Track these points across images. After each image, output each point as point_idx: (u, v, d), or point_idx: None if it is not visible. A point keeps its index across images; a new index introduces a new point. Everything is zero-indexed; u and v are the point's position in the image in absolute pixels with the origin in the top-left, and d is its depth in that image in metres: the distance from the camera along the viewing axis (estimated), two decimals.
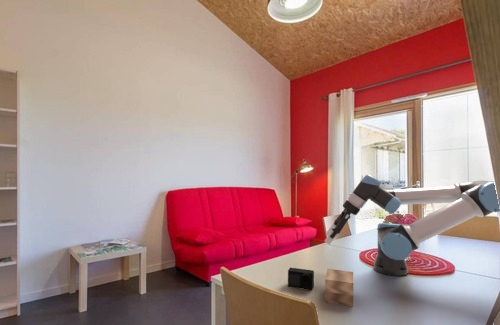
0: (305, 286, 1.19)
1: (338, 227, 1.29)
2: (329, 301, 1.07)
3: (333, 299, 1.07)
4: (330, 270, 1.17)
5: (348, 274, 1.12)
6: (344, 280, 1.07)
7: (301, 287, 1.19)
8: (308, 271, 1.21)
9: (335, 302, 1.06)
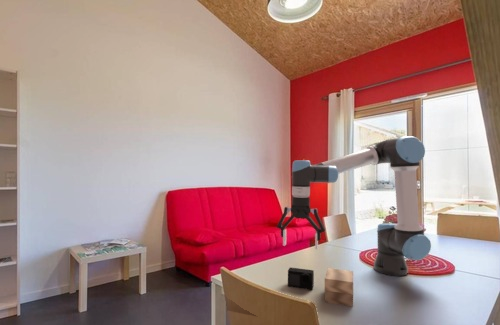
0: (305, 286, 1.19)
1: (322, 226, 1.18)
2: (329, 301, 1.07)
3: (333, 299, 1.07)
4: (330, 269, 1.18)
5: (348, 274, 1.13)
6: (344, 279, 1.08)
7: (301, 287, 1.20)
8: (308, 271, 1.21)
9: (335, 302, 1.06)
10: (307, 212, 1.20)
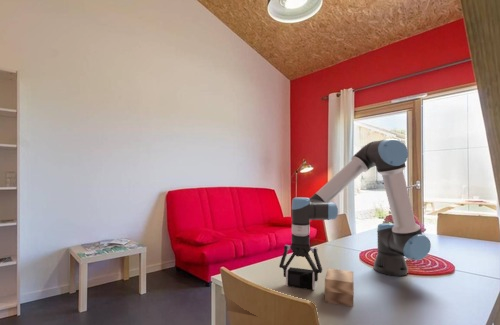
0: (305, 286, 1.19)
1: (320, 266, 1.18)
2: (329, 301, 1.07)
3: (333, 299, 1.07)
4: (330, 270, 1.17)
5: (348, 274, 1.13)
6: (344, 279, 1.07)
7: (301, 287, 1.20)
8: (308, 271, 1.21)
9: (335, 302, 1.06)
10: (307, 250, 1.19)
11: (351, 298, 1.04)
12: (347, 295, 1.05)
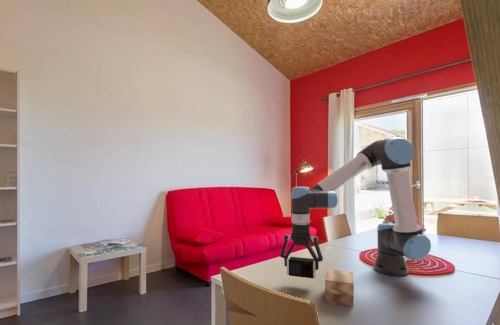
0: (306, 274, 1.19)
1: (321, 255, 1.18)
2: (329, 301, 1.07)
3: (333, 299, 1.07)
4: (330, 270, 1.17)
5: (348, 275, 1.12)
6: (344, 280, 1.07)
7: (302, 275, 1.20)
8: (309, 259, 1.21)
9: (335, 302, 1.06)
10: (307, 239, 1.19)
11: (351, 298, 1.04)
12: (347, 296, 1.05)
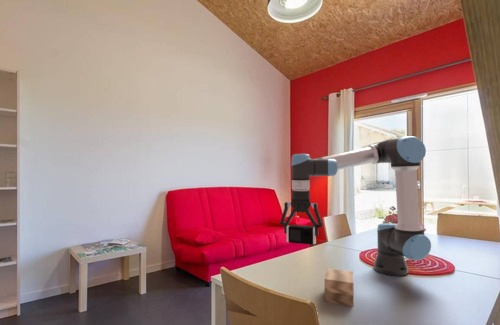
0: (306, 241, 1.20)
1: (321, 221, 1.18)
2: (329, 301, 1.07)
3: (333, 299, 1.07)
4: (330, 270, 1.17)
5: (348, 274, 1.12)
6: (344, 279, 1.07)
7: (302, 242, 1.20)
8: (309, 226, 1.21)
9: (335, 302, 1.06)
10: (307, 206, 1.20)
11: (351, 298, 1.04)
12: (347, 295, 1.05)
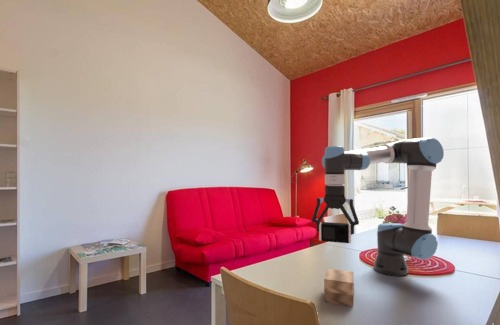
0: (341, 239, 1.11)
1: (357, 218, 1.10)
2: (329, 301, 1.07)
3: (333, 299, 1.07)
4: (330, 270, 1.17)
5: (348, 274, 1.12)
6: (343, 279, 1.07)
7: (336, 240, 1.12)
8: (343, 224, 1.13)
9: (335, 302, 1.06)
10: (342, 201, 1.11)
11: (351, 298, 1.04)
12: (347, 295, 1.05)
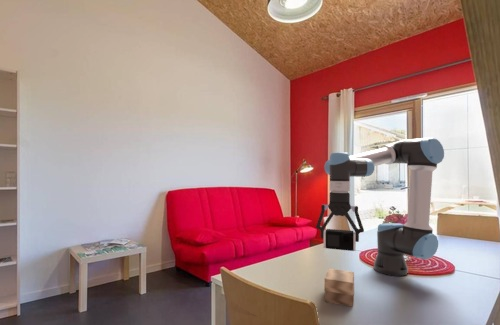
0: (345, 247, 1.10)
1: None
2: (329, 300, 1.07)
3: (333, 299, 1.07)
4: (331, 270, 1.17)
5: (349, 274, 1.12)
6: (344, 279, 1.07)
7: (341, 248, 1.11)
8: (348, 231, 1.12)
9: (335, 302, 1.07)
10: (347, 209, 1.10)
11: (351, 298, 1.05)
12: (347, 295, 1.05)
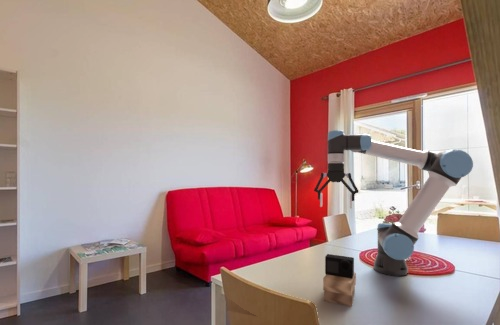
0: (344, 274, 1.10)
1: (356, 187, 1.33)
2: (328, 300, 1.08)
3: (332, 299, 1.07)
4: None
5: None
6: (343, 279, 1.08)
7: (340, 275, 1.11)
8: (347, 258, 1.12)
9: (334, 302, 1.07)
10: (342, 176, 1.35)
11: (350, 298, 1.05)
12: (346, 295, 1.05)
